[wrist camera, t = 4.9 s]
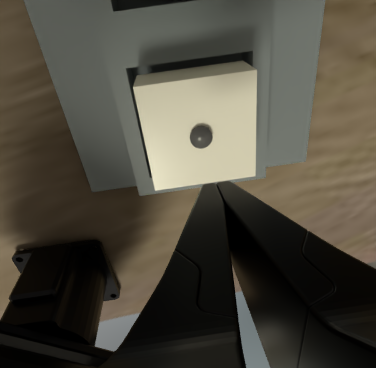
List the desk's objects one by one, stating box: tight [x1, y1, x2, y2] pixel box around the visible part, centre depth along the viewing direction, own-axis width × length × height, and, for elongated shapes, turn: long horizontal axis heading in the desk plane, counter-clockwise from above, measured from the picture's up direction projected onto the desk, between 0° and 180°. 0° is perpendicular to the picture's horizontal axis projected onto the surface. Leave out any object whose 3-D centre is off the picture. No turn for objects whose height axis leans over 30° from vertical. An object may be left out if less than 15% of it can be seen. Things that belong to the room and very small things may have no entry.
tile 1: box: [133, 60, 257, 191], centre depth 14 cm, size 5×5×2 cm
